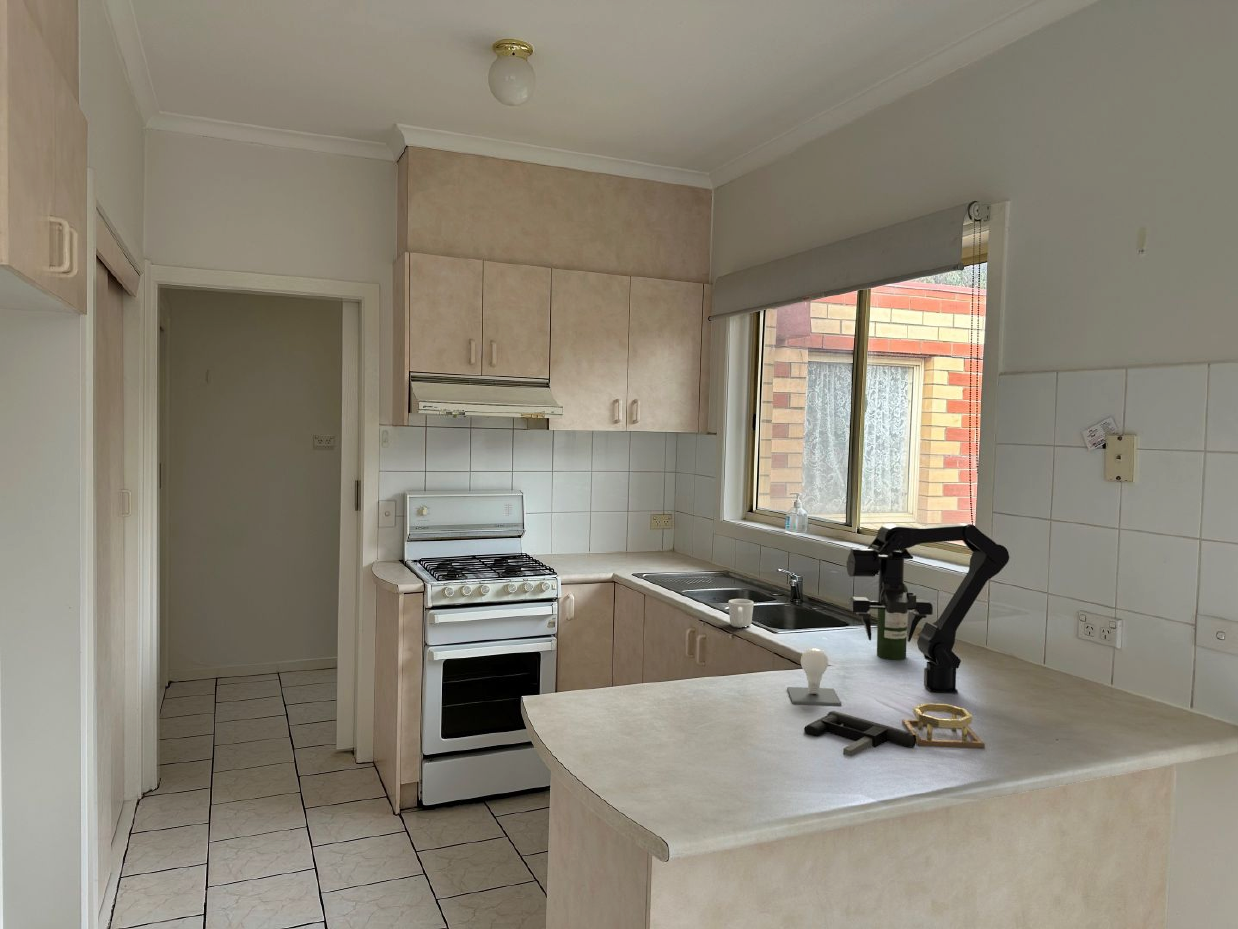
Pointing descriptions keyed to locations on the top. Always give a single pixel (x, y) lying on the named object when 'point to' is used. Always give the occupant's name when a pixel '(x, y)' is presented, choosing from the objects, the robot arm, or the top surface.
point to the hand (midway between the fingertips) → (889, 640)
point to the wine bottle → (892, 634)
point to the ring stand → (948, 723)
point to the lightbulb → (814, 668)
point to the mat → (813, 696)
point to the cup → (740, 612)
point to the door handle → (859, 732)
